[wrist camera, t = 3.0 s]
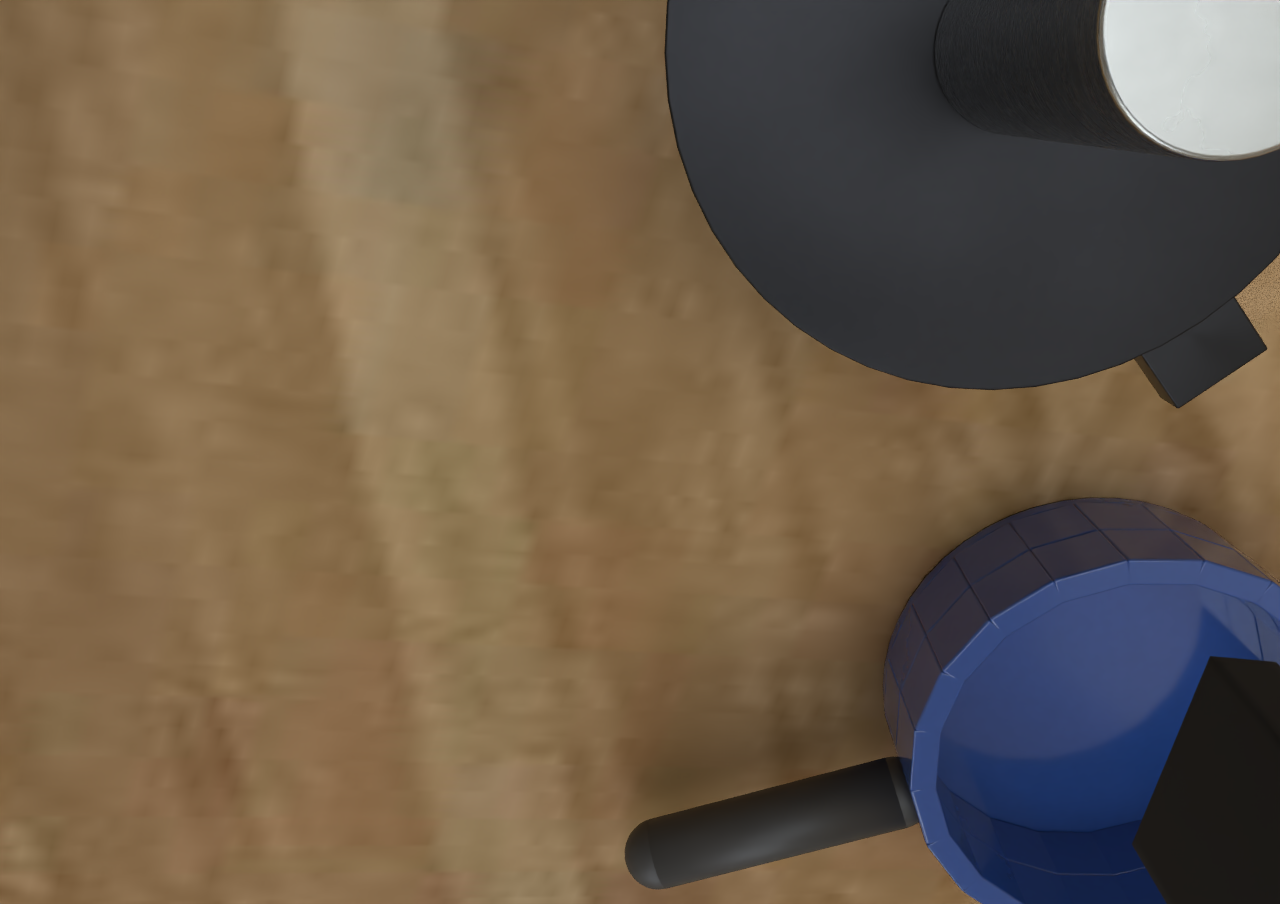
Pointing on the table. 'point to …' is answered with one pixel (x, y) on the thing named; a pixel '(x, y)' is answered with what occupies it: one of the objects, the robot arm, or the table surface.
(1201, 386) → the pot
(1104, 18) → the lid
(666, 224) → the table surface
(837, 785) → the pan handle
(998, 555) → the pan
